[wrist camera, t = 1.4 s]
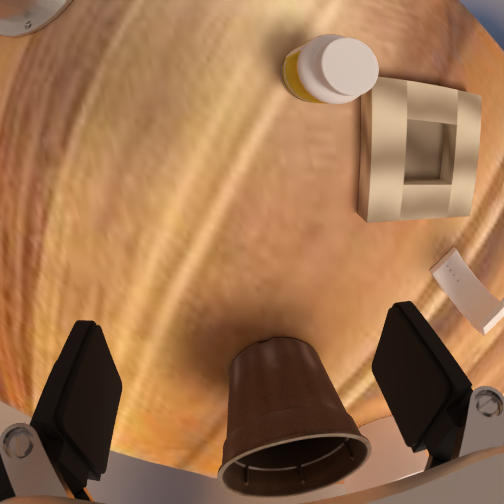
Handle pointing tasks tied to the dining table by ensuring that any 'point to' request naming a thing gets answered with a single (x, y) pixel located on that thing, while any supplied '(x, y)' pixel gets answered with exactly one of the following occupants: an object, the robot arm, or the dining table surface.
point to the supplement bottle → (330, 70)
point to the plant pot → (286, 424)
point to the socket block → (417, 151)
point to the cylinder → (385, 457)
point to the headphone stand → (467, 292)
